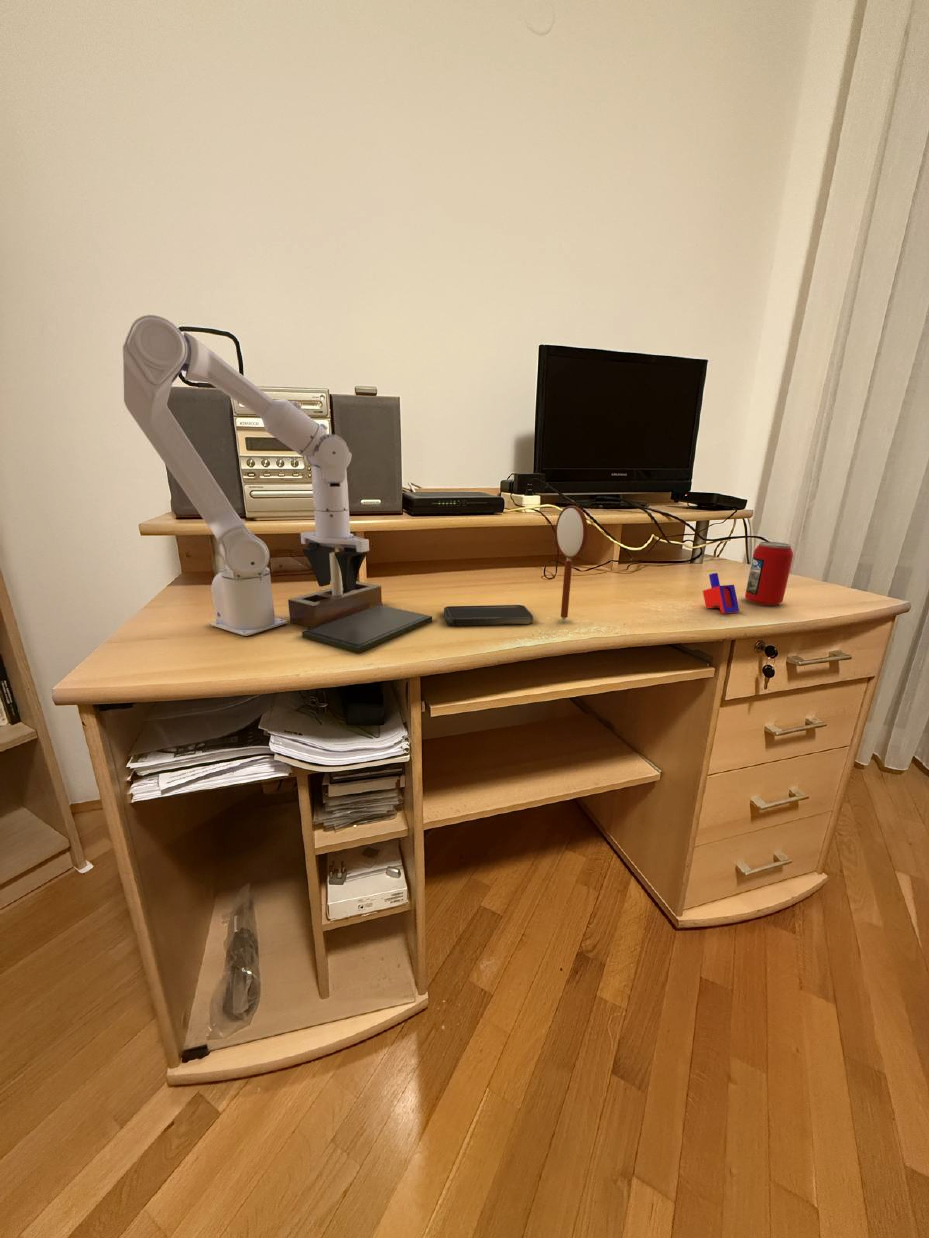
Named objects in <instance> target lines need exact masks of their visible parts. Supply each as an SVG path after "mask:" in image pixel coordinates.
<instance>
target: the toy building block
mask: <svg viewBox="0 0 929 1238" xmlns="http://www.w3.org/2000/svg"><path fill="white" fill-rule="evenodd" d="M708 577H709V583H710V587H711V588H708V589H703V590H702V594H703V599H704V600H703V601H704V605H705V608H706V609H711V608H712V609H713V608H719V610H720V614H721V615H723V614H732V613H733V614H734V613H739V612H740V607H739V602H738V599H737V598H738V597H737V591H736V587H735V584H725V585H724V584H723V585H721V583H720V577H719V574H718V573H717V572H714V573H709V574H708Z"/></svg>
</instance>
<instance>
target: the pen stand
mask: <svg viewBox="0 0 929 1238" xmlns="http://www.w3.org/2000/svg"><path fill="white" fill-rule="evenodd" d="M342 591H343V594H342V595H338V596H335V595H332V587H329V588H325V589H322V590H318V591H315V592H311V593H307V594H303V595H300V596H295V597H292V598H289V599H287V604H288V605H287V606H288V614H289V622H290V623H292V624H296V625H300V626H303V627H307V628H310V629H311V628H314V627H317V626H320V625H322V624H325V623H328V622H331V621H334V620H337V619H340V618H343V617H346V616H349V615H352V614H354V613H357V612H360V611H363V610H366V609H369V608H372V607H375V606H378V605H383V598H382V597H383V596H382V585H378V584H374V583H368V582H364V581H358V580H357V582H356V587H355V590H353V591H349V592H344V589H343V585H342Z"/></svg>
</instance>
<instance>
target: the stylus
mask: <svg viewBox="0 0 929 1238" xmlns="http://www.w3.org/2000/svg"><path fill="white" fill-rule="evenodd" d="M335 552H336V551H333V552H332V553H330V554H329V555H330V569H331V581H330V584H331V588H332V595H335V596H338V595H342V594H343V591H342V577H341V571H340V567H339V564H338V561H337V559H336V556H335Z"/></svg>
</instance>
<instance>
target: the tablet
mask: <svg viewBox="0 0 929 1238" xmlns="http://www.w3.org/2000/svg"><path fill="white" fill-rule="evenodd" d="M432 622H433V616H432V615H429V614H424V613H418V612H415V611H409V610H405V609H401V608H396V607H393V606H387V605H383V604H382V605H378V606H375V607H372V608H369V609H366V610H363V611H360V612H357V613H354V614H352V615H349V616H346V617H343V618H340V619H337V620H334V621H331V622H328V623H325V624H322V625H320V626H317V627H314V628H311V627H310V628H308V629H305V630H302V631H301V638H303V639H306V640H310V641H313V642H317V643H320V644H324V645H326V646H327V645H328V646H330V647H334V648H337V649H340V650H343V651H347V652H351V653H354V654H358V655H360V654H362V653H364V652H366V651H369V650H371V649H374V648H376V647H378V646H380V645H383V644H385V643H386V642H387V643H388V642H389V641H391V640H394V639H397V638H398V637H401V636H403V635H405V634H407V633H410V632H412V631H414V630H417V629H418V628H421V627H423V626H426V625H428V624H430V623H432Z"/></svg>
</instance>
